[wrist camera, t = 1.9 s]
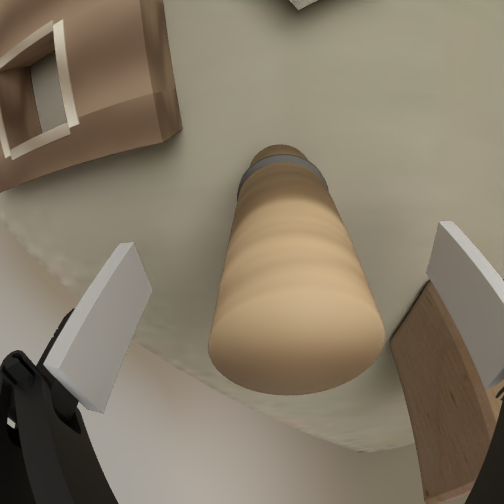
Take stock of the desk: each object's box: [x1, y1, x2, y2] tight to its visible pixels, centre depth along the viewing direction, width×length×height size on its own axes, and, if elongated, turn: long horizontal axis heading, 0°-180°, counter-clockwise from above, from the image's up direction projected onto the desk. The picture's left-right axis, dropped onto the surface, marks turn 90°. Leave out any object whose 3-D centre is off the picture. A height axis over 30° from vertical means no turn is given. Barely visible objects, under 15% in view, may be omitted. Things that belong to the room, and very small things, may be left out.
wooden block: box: [390, 281, 504, 504], centre depth 18 cm, size 10×10×20 cm
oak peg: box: [208, 145, 385, 395], centre depth 13 cm, size 5×5×14 cm
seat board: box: [0, 0, 183, 193], centre depth 12 cm, size 16×18×4 cm
